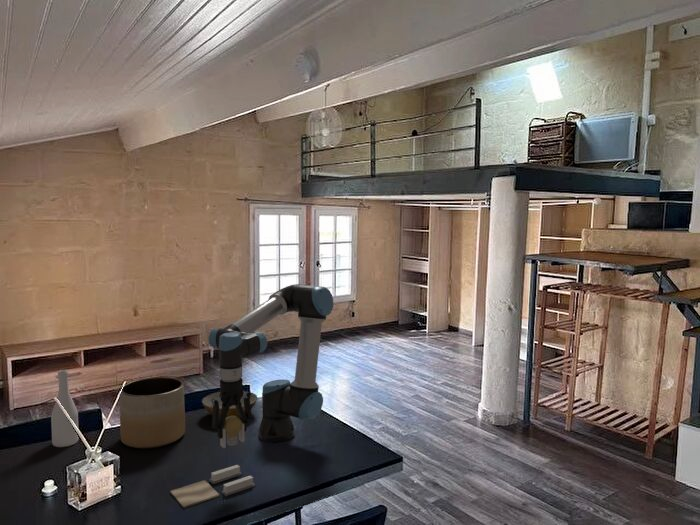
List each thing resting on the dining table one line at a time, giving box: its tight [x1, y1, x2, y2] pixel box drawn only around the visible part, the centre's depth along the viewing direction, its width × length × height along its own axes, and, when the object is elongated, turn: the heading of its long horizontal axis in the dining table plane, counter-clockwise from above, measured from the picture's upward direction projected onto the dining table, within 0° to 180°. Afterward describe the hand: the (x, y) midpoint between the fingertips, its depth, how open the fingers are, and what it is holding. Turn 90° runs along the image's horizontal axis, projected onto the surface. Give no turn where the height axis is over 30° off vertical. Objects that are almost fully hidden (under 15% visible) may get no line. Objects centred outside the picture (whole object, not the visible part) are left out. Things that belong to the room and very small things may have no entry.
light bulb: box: [223, 416, 242, 447], centre depth 181 cm, size 6×6×10 cm
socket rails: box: [209, 464, 256, 497], centre depth 182 cm, size 13×11×3 cm
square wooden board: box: [169, 479, 220, 509], centre depth 175 cm, size 12×12×1 cm
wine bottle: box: [50, 369, 80, 448], centre depth 212 cm, size 10×10×30 cm
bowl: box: [201, 390, 258, 419], centre depth 244 cm, size 25×25×8 cm
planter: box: [119, 376, 186, 450], centre depth 218 cm, size 25×25×22 cm
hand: (232, 443), depth 181 cm, fingers closed on light bulb, 6 cm apart
